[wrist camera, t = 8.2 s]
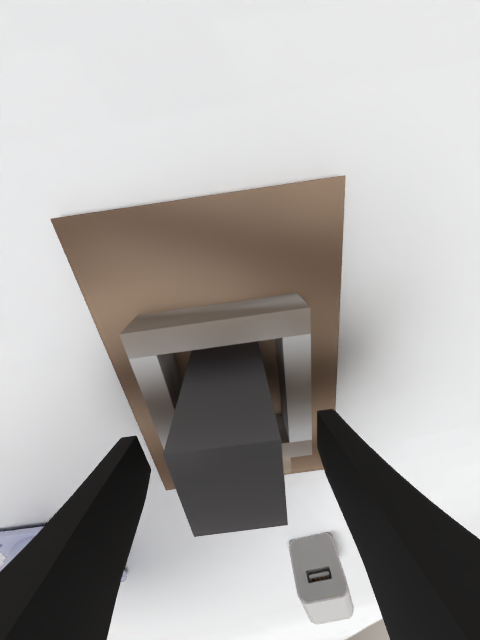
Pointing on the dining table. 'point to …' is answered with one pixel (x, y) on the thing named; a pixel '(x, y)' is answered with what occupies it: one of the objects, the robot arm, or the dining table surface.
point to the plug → (227, 443)
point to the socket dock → (218, 298)
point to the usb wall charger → (320, 579)
